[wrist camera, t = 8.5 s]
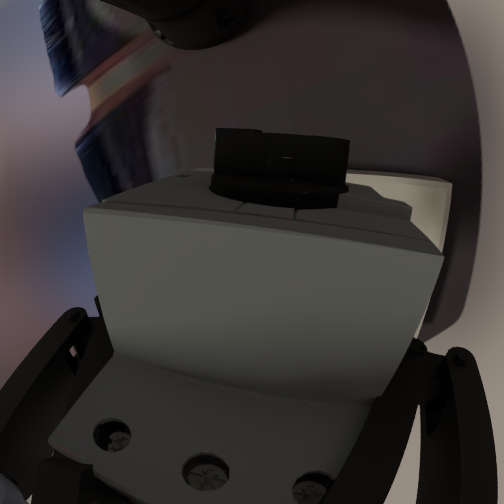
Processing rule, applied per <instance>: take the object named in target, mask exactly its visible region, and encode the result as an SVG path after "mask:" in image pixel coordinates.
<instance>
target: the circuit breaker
mask: <svg viewBox="0 0 504 504" xmlns="http://www.w3.org/2000/svg"><path fill="white" fill-rule="evenodd" d="M349 144H350V140H345V139H340V138H332V137H323V136H306V135H294V134H280V133H262V131H260V130H256V129H236V128H216V135H215V154H214V168H208V167H200V168H197V169H193V170H190V171H186V172H183V173H180V174H176V175H173V176H170V177H167V178H163V179H160V180H157V181H154V182H151V183H148V184H145V185H142V186H139V187H136V188H134V189H131V190H128V191H125V192H122V193H120V194H117V195H114V196H112V197H109V198H107V199H104V200H102V201H103V203H97V204H94V205H91V206H88V207H85V209H84V212H83V218H84V226H85V233H86V239H87V245H88V251H89V257H90V261H91V267H92V271H93V277H94V281H95V286H96V290H97V294H98V298H99V302H100V306H101V310H102V313H103V317H104V320H105V324H106V327H107V331H108V334H109V337H110V340H111V343H112V346H113V349H114V354H113V356H112V358H111V359H110V360H109V361H108V363H107V364H106V365H105V366H104V367H103V369H102V370H101V371H100V372H99V374H98V375H97V376H96V377H95V379H94V380H93V381H92V382H91V384H90V385H89V386H88V387H87V389H86V390H85V391H84V392H83V394H82V395H81V396H80V397H79V399H78V400H77V401H76V403H75V404H74V405H73V407H72V408H71V409H70V410H69V412H68V413H67V414H66V416H65V417H64V418H63V420H62V421H61V422H60V424H59V425H58V426H57V428H56V429H55V430H54V432H53V433H52V434H51V436H50V437H49V438H48V444H49V445H50V446H51V447H52V448H53V449H56V450H57V451H59V452H60V453H61V454H63V455H65V456H67V457H69V458H71V459H73V460H75V461H77V462H80V463H83V464H92V465H93V473H94V476H96V477H97V478H98V479H100V480H101V481H102V482H104V483H105V484H106V485H108V486H109V487H110V488H112V489H113V490H115V491H116V492H117V493H119V494H121V495H123V496H125V497H127V498H129V499H130V501H131V502H133V503H135V504H318V503H319V502H320V500H321V498H322V497H323V495H324V494H325V493H326V491H327V490H326V489H327V488H328V486H329V484H330V482H331V480H333V481H334V480H335V479H336V478H337V476H338V474H339V472H340V471H341V469H342V467H343V465H344V463H345V462H346V460H347V458H348V456H349V454H350V452H351V450H352V448H353V446H354V444H355V442H356V440H357V438H358V436H359V434H360V432H361V429H362V427H363V425H364V423H365V421H366V418H367V416H368V414H369V411H370V409H371V407H372V405H373V403H374V401H375V399H376V397H377V396H381V395H382V394H383V392H384V391H385V389H386V387H387V386H388V384H389V382H390V380H391V379H392V377H393V375H394V373H395V372H396V370H397V368H398V366H399V364H400V363H401V361H402V359H403V357H404V355H405V353H406V351H407V349H408V347H409V345H410V343H411V341H412V339H413V337H414V335H415V333H416V330H417V328H418V326H419V324H420V322H421V319H422V317H423V315H424V312H425V310H426V307H427V305H428V302H429V300H430V297H431V295H432V292H433V290H434V287H435V284H436V281H437V279H438V276H439V273H440V270H441V267H442V264H443V260H444V255H443V254H442V253H441V252H440V250H439V249H438V248H437V247H436V246H435V244H434V243H433V242H432V241H431V240H430V239H429V238H428V237H427V236H426V235H425V234H424V233H423V232H422V231H421V230H420V229H419V228H418V227H416V226H415V225H414V224H413V223H412V222H411V221H410V220H411V215H412V209H413V208H412V207H411V206H410V205H408V204H407V203H405V202H403V201H399V200H394V199H389V198H384V197H383V196H381V195H380V194H379V193H378V192H376V191H375V190H374V189H373V188H372V187H370V186H365V185H360V184H354V183H348V182H346V174H347V165H348V155H349ZM110 421H117V422H122V423H124V424H125V433H124V432H121V431H119V432H116V433H112V434H111V435H110V437H109V438H110V439H111V440H112V442H111V444H108V451H105V450H102V449H101V448H100V447H99V446H97V445H96V444H95V440H94V436H93V434H94V431H95V428H96V426H98V425H99V424H101V425H102V424H103V423H105V422H110Z"/></svg>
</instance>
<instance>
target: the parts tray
mask: <svg viewBox="0 0 504 504" xmlns="http://www.w3.org/2000/svg"><path fill="white" fill-rule="evenodd" d="M346 182H348V183H354V184H360V185H365V186H370V187H372V188H373V189H374V190H375V191H376V192H378V193H379V194H380V195H381V196H383V197H384V198H389V199H394V200H399V201H403V202H405V203H407V204H408V205H410V206H411V207H412V208H413V209H412V215H411V220H410V221H411V222H412V223H413V224H414V225H415V226H416V227H418V228H419V229H420V230H421V231H422V232H423V233H424V234H425V235H426V236H427V237H428V238H429V239H430V240H431V241H432V242H433V243H434V244H435V246H436V247H437V248H438V249H439V250H440V252H441V253H442V250H443V245H444V240H445V235H446V229H447V223H448V217H449V210H450V202H451V193H452V183H450V182H448V181H446V180H443V179H441V178H439V177H431V176H423V175H414V174H405V173H395V172H383V171H369V170H352V169H347V174H346ZM430 298H431V297H430ZM429 301H430V300H429ZM428 304H429V302H428ZM427 307H428V305H427ZM427 307H426V310H427ZM426 310H425V312H424V315H423V317H422V319H421V322H420V324H419V326H418V328H417V330H416V333H415V335H414V338H416V339H417V336H418V334H419V331H420V328H421V325H422V322H423V319H424V317H425V314H426Z"/></svg>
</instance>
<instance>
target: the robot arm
mask: <svg viewBox="0 0 504 504" xmlns="http://www.w3.org/2000/svg"><path fill="white" fill-rule="evenodd" d="M101 1H103V2H106V3H109V4H111V5H114V6H117V7H119V8H121V9H124V10H126V11H129V12H131V13H133V14H135V15H138V16H140V17H142V18H144V19H146V21H147V22H148V24H149V26H150V27H151V29H152V31H153V32H154V34H155V35H156V36H157V37H158V38H159V39H160V40H161V41H163V42H165V43H167V44H169V45H171V46H173V47H175V48H179V49H184V50H197V49H203V48H207V47H210V46H213V45H216V44H218V43H220V42H222V41H224V40H226V39H227V38H229V37H230V36H232V35H233V34H234V33H235V32H237V31H238V30H239V29H240V28H241V27H242V25H243V24H244V23H245V22H246V20H247V18H248V17H249V14H250V12H251V9H252V0H101ZM94 301H95V304H96V307H97V309H98V312H99V315H100V316H99V317H88V315H87V312H86V310H85V309H84V308H80V307H75V308H71V309H69V310H67V311H66V312H65V313H64V314H63V315H62V316H61V317H60V318H59V319H58V320H57V321H56V322H55V323H54V324H53V326H52V327H51V328H50V329H49V330H48V331H47V332H46V334H45V335H44V336H43V337H42V338H41V339H40V340H39V342H38V343H37V344H36V345H35V347H34V348H33V349H32V350H31V351H30V352H29V354H28V355H27V356H26V357H25V359H24V360H23V361H22V362H21V364H20V365H19V366H18V367H17V369H16V370H15V371H14V372H13V374H12V375H11V376H10V378H9V379H8V381H7V382H6V383H5V384H4V386H3V387H2V389H1V390H0V504H29V503H28V502H27V501H26V500H27V499H28V498H29V497H30V496H31V495H32V500H31V504H135V503H133V502H131V501H130V499H129V498H127V497H125V496H123V495H121V494H119V493H117V492H116V491H115V490H113V489H112V488H110V487H109V486H108V485H106V484H105V483H104V482H102V481H101V480H100V479H98V478H97V477H96V476H94V473H93V465H92V464H83V463H80V462H77V461H75V460H73V459H71V458H69V457H67V456H65V455H63V454H61V453H60V452H59V451H57V450H56V449H53V448H52V447H51V446H50V445H49V444H48V438H49V437H50V436H51V434H52V433H53V432H54V430H55V429H56V428H57V426H58V425H59V424H60V422H61V421H62V420H63V418H64V417H65V416H66V414H67V413H68V412H69V410H70V409H71V408H72V407H73V405H74V404H75V403H76V401H77V400H78V399H79V397H80V396H81V395H82V394H83V392H84V391H85V390H86V389H87V387H88V386H89V385H90V384H91V382H92V381H93V380H94V379H95V377H96V376H97V375H98V374H99V372H100V371H101V370H102V369H103V367H104V366H105V365H106V364H107V363H108V361H109V360H110V359H111V358H112V356H113V354H114V349H113V346H112V343H111V340H110V337H109V334H108V331H107V327H106V324H105V320H104V317H103V313H102V310H101V306H100V302H99V298H98V295H97V296H96V297H95V299H94ZM72 346H73V348H74V350H75V352H76V355H75V356H74V357H73V356H72V355H71V353H70V351H69V350H70V348H71V347H72ZM418 405H420V419H421V420H420V421H421V447H420V449H421V450H420V469H419V481H418V491H417V500H416V504H497V500H498V485H497V484H498V481H497V463H496V452H495V444H494V436H493V430H492V424H491V419H490V413H489V409H488V404H487V400H486V395H485V391H484V387H483V384H482V380H481V376H480V373H479V370H478V366H477V363H476V360H475V358H474V356H473V354H472V353H471V352H470V351H468V350H467V349H465V348H462V347H453V348H451V349H449V350H448V352H447V354H446V356H443V355H438V354H434V353H430V352H428V351H427V347H426V346H425V344H424V343H423V342H422V341H420V340H419V339H416V338H414V337H413V339H412V341H411V343H410V345H409V347H408V349H407V351H406V353H405V355H404V357H403V359H402V361H401V363H400V364H399V366H398V368H397V370H396V372H395V373H394V375H393V377H392V379H391V380H390V382H389V384H388V386H387V387H386V389H385V391H384V392H383V394H382V395H381V396H377V397H376V399H375V401H374V403H373V405H372V407H371V409H370V411H369V414H368V416H367V418H366V421H365V423H364V425H363V427H362V429H361V432H360V434H359V436H358V438H357V440H356V442H355V444H354V446H353V448H352V450H351V452H350V454H349V456H348V458H347V460H346V462H345V463H344V465H343V467H342V469H341V471H340V472H339V474H338V476H337V478H336V479H335V480H334V481H333V480H331V482H330V484H329V486H328V488H327V489H326V490H327V491H326V493H325V494H324V495H323V497H322V498H321V500H320V502H319V503H318V504H383V503H384V501H385V499H386V497H387V495H388V493H389V491H390V488H391V485H392V483H393V481H394V479H395V476H396V474H397V471H398V468H399V466H400V463H401V460H402V457H403V455H404V452H405V449H406V446H407V443H408V439H409V436H410V433H411V429H412V426H413V422H414V419H415V414H416V410H417V407H418ZM119 431H121V432H124V433H125V424H124V423H122V422H117V421H110V422H105V423H103V424H102V425H101V424H99V425H98V426H96V428H95V431H94V434H93V436H94V440H95V444H96V445H97V446H99V447H100V448H101V449H102V450H105V451H108V444H111V442H112V440H111V439H110V438H109V437H110V435H111V434H112V433H116V432H119ZM53 451H54V453H53ZM52 453H53V456H52ZM51 456H52V457H51Z"/></svg>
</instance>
